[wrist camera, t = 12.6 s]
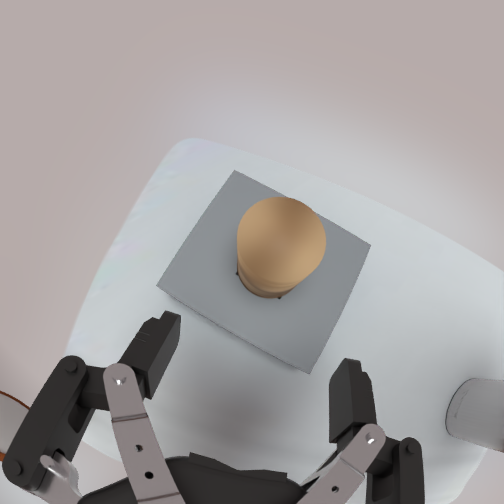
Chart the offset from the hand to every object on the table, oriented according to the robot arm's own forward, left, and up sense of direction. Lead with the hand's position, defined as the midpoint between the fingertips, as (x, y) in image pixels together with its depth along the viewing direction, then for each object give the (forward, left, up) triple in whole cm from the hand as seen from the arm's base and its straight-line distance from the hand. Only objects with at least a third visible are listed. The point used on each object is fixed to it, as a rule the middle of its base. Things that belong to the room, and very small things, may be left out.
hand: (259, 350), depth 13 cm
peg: (+2, -7, -16) cm, 18 cm away
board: (+2, -7, -16) cm, 18 cm away
